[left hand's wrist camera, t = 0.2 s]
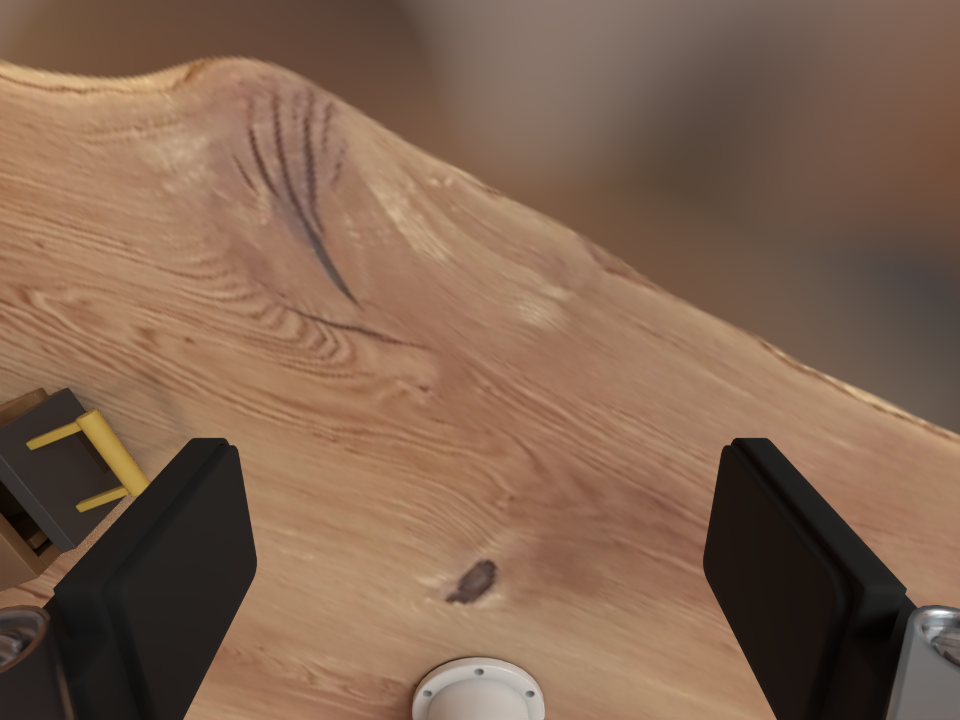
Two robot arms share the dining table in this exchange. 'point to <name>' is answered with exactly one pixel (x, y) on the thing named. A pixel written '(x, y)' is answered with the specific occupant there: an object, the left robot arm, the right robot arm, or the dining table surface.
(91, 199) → the dining table surface
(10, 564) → the cabinet
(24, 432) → the drawer
